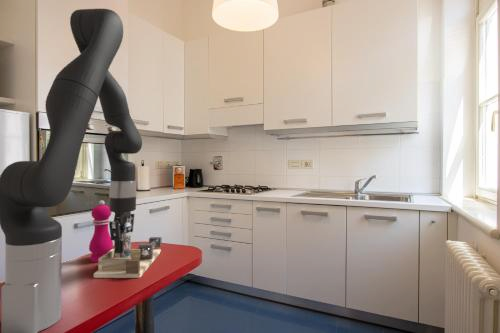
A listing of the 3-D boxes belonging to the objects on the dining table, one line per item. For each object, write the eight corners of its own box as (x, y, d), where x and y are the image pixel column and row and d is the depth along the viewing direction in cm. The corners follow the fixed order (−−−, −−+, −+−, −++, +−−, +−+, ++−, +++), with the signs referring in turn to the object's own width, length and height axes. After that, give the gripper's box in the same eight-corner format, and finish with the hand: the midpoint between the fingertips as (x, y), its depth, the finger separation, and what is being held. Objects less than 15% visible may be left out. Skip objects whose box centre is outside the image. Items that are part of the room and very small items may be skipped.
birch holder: (140, 277, 82) (140, 257, 82) (93, 277, 81) (93, 257, 81) (160, 252, 105) (161, 236, 105) (124, 252, 104) (124, 236, 104)
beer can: (124, 264, 85) (124, 224, 85) (110, 262, 86) (110, 223, 86) (133, 259, 90) (134, 221, 90) (120, 257, 91) (120, 220, 91)
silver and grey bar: (150, 258, 93) (150, 248, 93) (137, 258, 92) (138, 248, 92) (161, 245, 107) (161, 237, 107) (150, 245, 106) (150, 237, 106)
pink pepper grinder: (84, 259, 95) (85, 200, 95) (106, 254, 101) (106, 198, 101) (95, 264, 91) (96, 202, 91) (117, 258, 97) (117, 200, 97)
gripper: (126, 198, 81) (125, 258, 81) (142, 193, 95) (142, 243, 96) (99, 198, 81) (98, 258, 81) (119, 192, 95) (119, 243, 95)
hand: (122, 249), depth 88 cm, fingers closed on beer can, 4 cm apart
